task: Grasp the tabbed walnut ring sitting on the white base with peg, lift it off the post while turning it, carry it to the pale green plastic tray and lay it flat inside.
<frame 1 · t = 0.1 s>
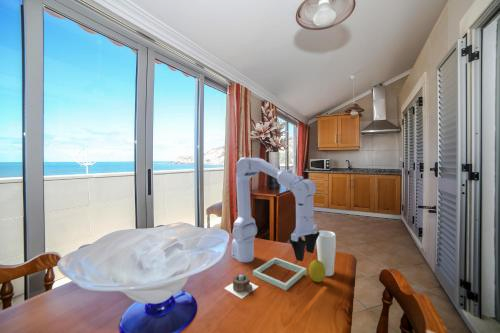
hand: (305, 256, 70), 10 cm above the table, fingers open, 7 cm apart
drinking glass: (326, 273, 78), on the table
ring: (241, 287, 68), point 1 cm above the table, touching white base with peg
white base with peg: (241, 290, 69), on the table
lemon: (317, 283, 72), on the table
tray: (279, 276, 76), on the table
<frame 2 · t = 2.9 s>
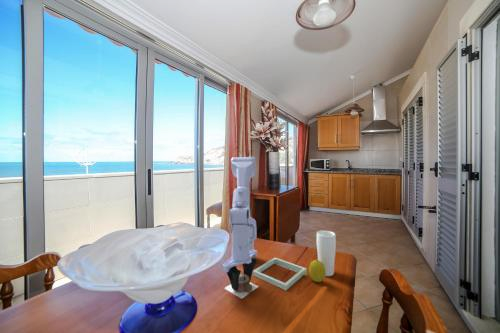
hand: (241, 284, 68), 2 cm above the table, fingers closed on ring, 5 cm apart
ring: (241, 287, 68), point 1 cm above the table, touching gripper, white base with peg
everything else where it was.
when the fingers open (3 cm above the table, at t = 7.4 s): ring drops 2 cm, resting on tray.
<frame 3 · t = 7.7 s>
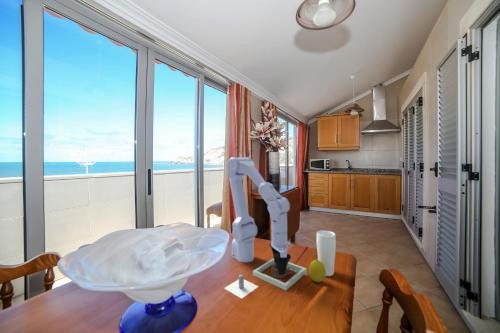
hand: (279, 268, 76), 3 cm above the table, fingers open, 7 cm apart
ring: (278, 274, 76), point 1 cm above the table, touching tray
everything else where it was.
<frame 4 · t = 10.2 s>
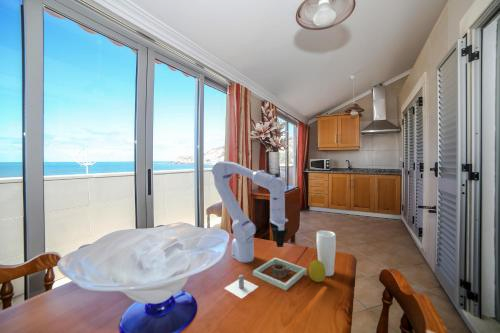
hand: (278, 242, 83), 10 cm above the table, fingers open, 7 cm apart
nothing on the table moved.
at the end: ring inside the target area on the tray (0.3 cm from its centre), point 0.6 cm above the tray's base; ring tilted 0°; the gripper is holding nothing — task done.
